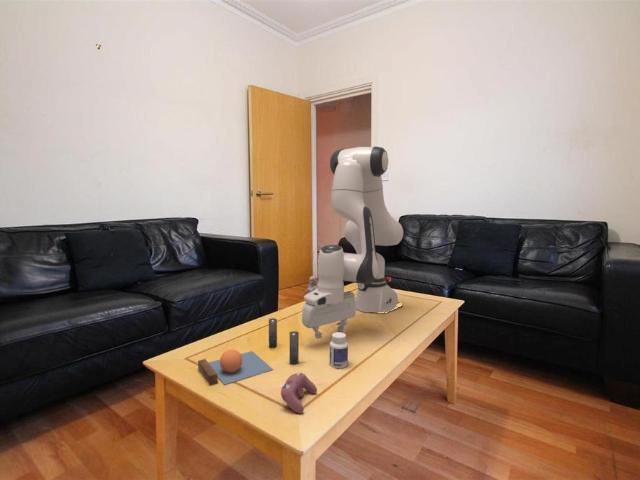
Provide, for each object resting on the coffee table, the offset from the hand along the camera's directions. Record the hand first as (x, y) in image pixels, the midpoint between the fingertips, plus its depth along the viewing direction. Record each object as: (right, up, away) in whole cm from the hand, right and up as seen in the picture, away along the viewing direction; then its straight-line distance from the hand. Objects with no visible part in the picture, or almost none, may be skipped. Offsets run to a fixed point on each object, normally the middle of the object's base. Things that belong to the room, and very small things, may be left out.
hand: (329, 334), depth 115 cm
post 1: (-18, -3, -5) cm, 19 cm away
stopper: (-33, -5, -23) cm, 41 cm away
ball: (-28, -1, -21) cm, 35 cm away
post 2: (-11, -4, -15) cm, 19 cm away
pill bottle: (+2, -4, -16) cm, 17 cm away
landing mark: (-26, -4, -18) cm, 32 cm away
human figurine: (-6, 0, +18) cm, 19 cm away
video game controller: (-8, -7, -34) cm, 36 cm away
